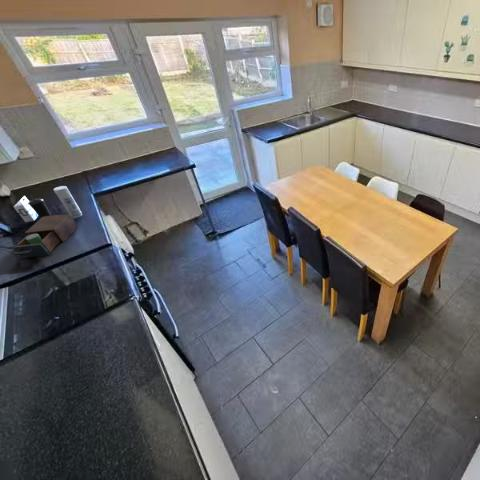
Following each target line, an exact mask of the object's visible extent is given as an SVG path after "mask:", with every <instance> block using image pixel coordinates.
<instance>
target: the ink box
mask: <svg viewBox="0 0 480 480" xmlns="http://www.w3.org/2000/svg"><path fill="white" fill-rule="evenodd" d="M29 202H30V200H29V199H28V198H27V197H26V195H23V196H22V198H20V200H18V201H17V203H15V204H14V205H13V208H14V209H15V211H16V212H17V213H18V214H19V216H20V217H21V218H22V220H23V221H24V223H29V222H35V220H36V219H37V218H38V217H40V216H39V215H38V214H37V213H36V212H35V211H34V209H33V208H32V207H31V206H30V205H29V204H28V203H29Z"/></svg>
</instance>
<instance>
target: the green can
mask: <svg viewBox="0 0 480 480" xmlns="http://www.w3.org/2000/svg"><path fill="white" fill-rule="evenodd" d="M26 236H27V235H26ZM26 236H25V237H26ZM26 240H27V241H28V243H29V244H39V243H40V242H41V241H42V240H43V239H42V238H41V237H40V236H39V235H38V234H31V235H29V236H27V237H26Z"/></svg>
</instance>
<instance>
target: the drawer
mask: <svg viewBox="0 0 480 480" xmlns="http://www.w3.org/2000/svg"><path fill="white" fill-rule="evenodd" d="M31 234H38V235H39V236H40V237H41V238H42V239H43V240H42V241H41V242H40V243H39V244H29V243H28V241H27V240H26V237H27V236H29V235H31ZM60 241H61V240H60V239H59V238H58V237H57V235H56V234H55V233H54V232H53V231H47V232H38V233H29V234H28V235H26V236H25V237H24V238H22V239H21V240H20V241H19V242H18V243H17V244H16V245H13V246H12V247H11V248H12V250H13V251H14V253H13V255H14V256H19V257H20V258H21V259H25V258H26V259H27V258H34V257H35V258H36V257H44V256H50V255H51V252H52V251H53V250H54V249H55V248H56V247H57V246H58V244H60V243H59V242H60Z"/></svg>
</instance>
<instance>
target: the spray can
mask: <svg viewBox="0 0 480 480" xmlns="http://www.w3.org/2000/svg"><path fill="white" fill-rule="evenodd" d="M53 191H54V194H55V195H56V196H57V197H58V199H59V201H60V202H61V204H62V205H63V208H64V209H65V210H66V212H67V214H70V215H71V217H72V218H73V219H76V218H80V217H81V216H83V212H82V211H81V209H80V207H79V205H78V203H77V202H76V200H75V199H74V197H73V195H72V194H71V191H70V190H69V189H68V186H66V185H59V186H57V187H55V188H53Z"/></svg>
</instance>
